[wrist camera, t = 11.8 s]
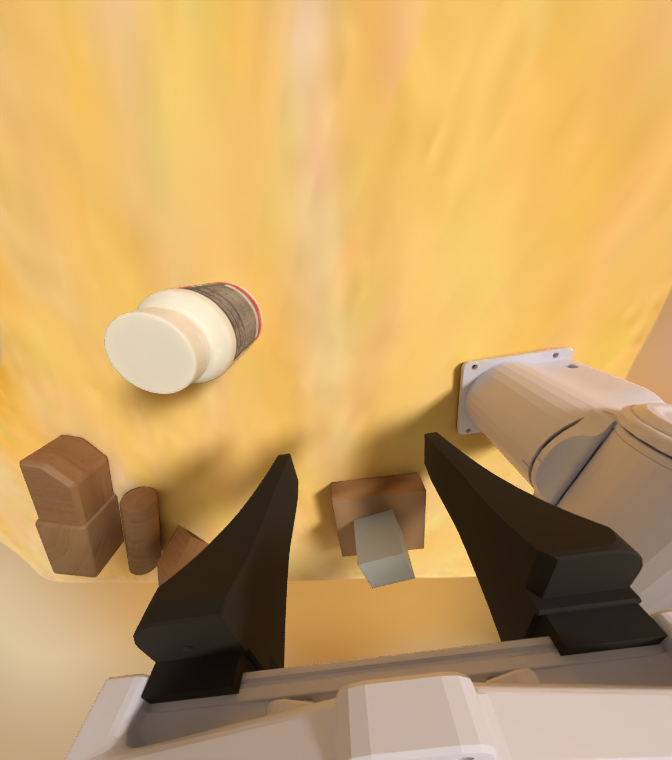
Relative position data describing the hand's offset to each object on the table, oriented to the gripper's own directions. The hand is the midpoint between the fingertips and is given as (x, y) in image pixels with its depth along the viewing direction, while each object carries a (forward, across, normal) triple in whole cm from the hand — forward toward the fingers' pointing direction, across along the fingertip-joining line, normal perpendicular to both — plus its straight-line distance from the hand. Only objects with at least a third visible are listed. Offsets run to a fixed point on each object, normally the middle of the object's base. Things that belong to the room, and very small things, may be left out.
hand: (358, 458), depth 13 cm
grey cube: (+8, -1, +18) cm, 20 cm away
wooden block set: (+12, +25, +13) cm, 30 cm away
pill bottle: (+11, +8, -7) cm, 15 cm away
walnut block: (+11, -2, +18) cm, 21 cm away
